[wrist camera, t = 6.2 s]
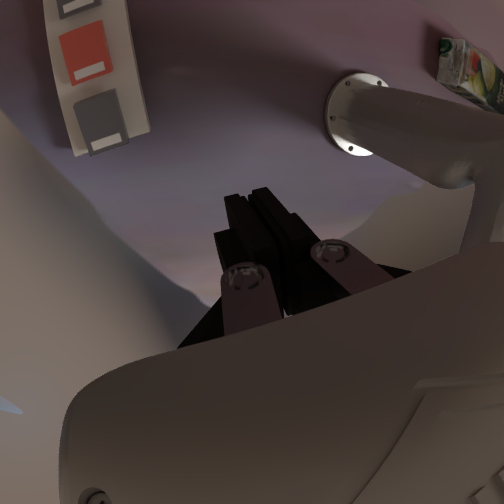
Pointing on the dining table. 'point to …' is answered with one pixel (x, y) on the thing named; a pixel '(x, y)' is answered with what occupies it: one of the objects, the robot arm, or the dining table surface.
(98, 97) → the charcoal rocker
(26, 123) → the dining table surface
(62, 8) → the charcoal rocker
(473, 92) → the juice carton
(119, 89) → the rocker switch panel
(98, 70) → the red rocker
